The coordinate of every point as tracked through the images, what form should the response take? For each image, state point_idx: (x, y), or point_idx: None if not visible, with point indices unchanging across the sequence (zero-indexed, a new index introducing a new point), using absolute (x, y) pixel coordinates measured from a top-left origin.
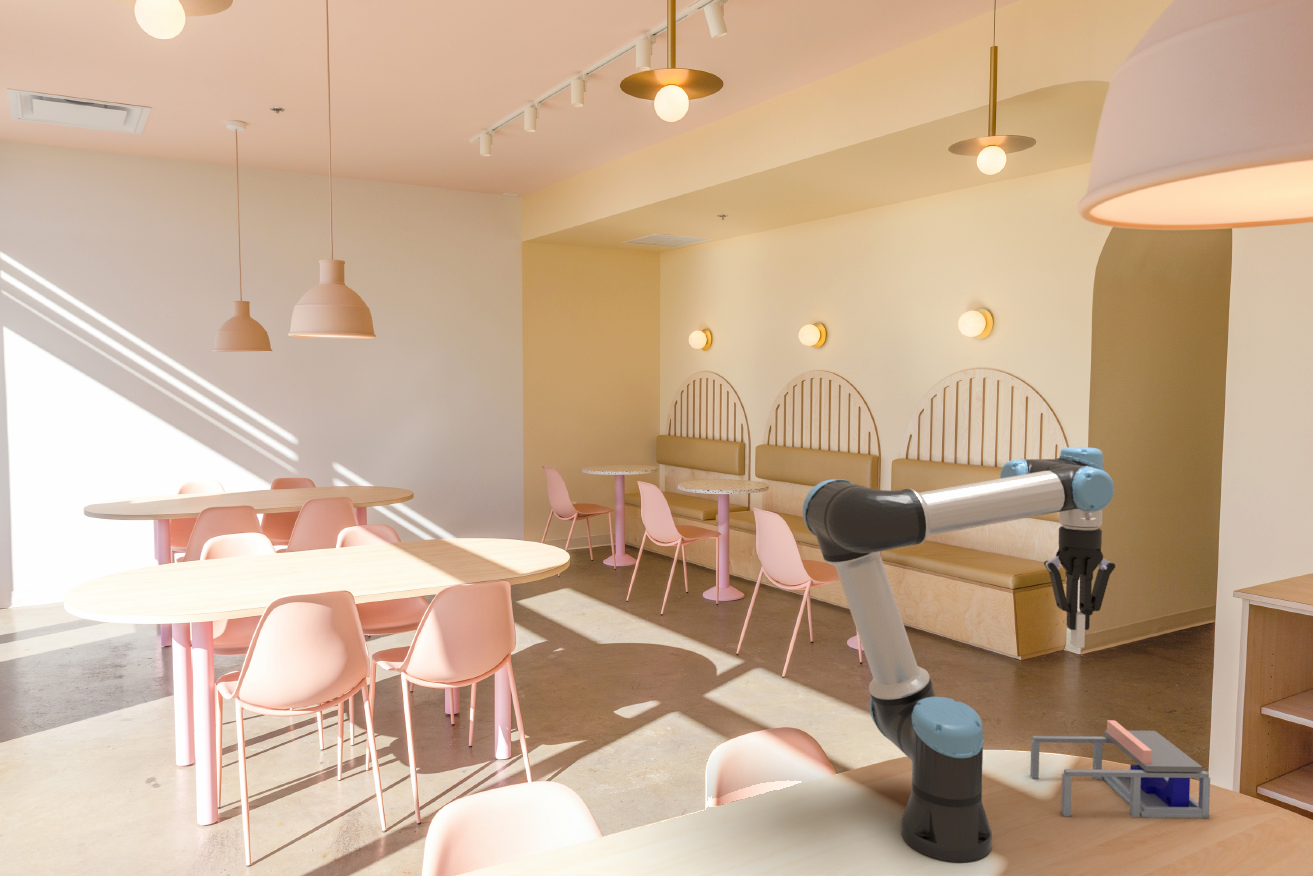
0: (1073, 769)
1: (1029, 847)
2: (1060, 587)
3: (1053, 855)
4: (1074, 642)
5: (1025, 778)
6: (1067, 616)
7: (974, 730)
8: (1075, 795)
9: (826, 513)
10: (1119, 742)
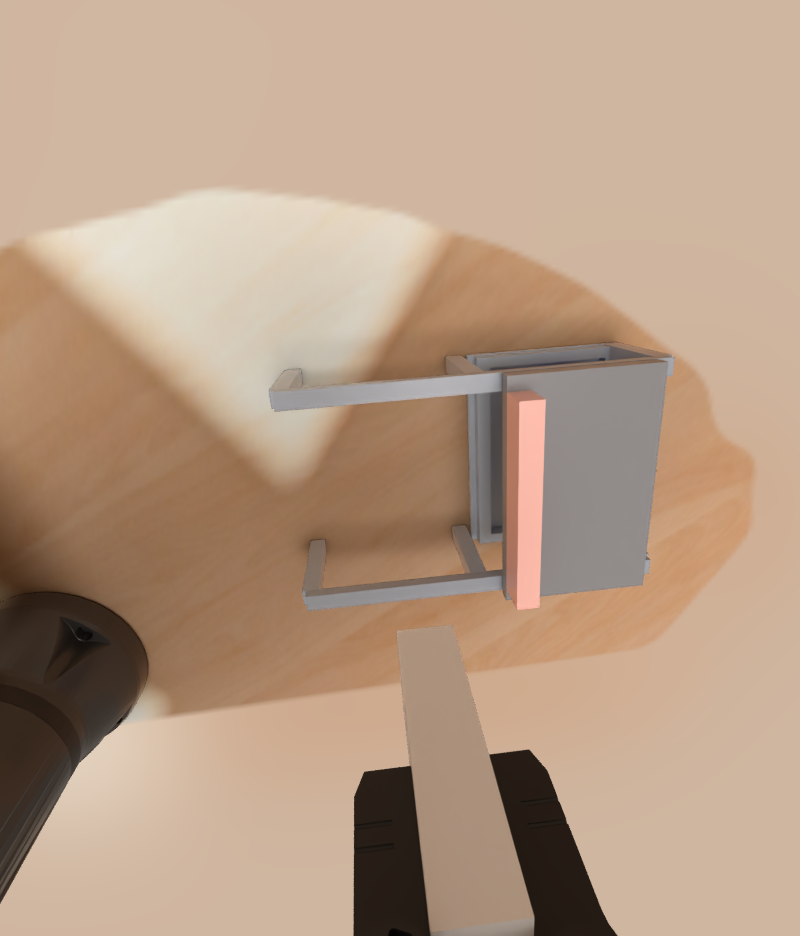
0: (329, 595)
1: (217, 664)
2: None
3: (254, 680)
4: (403, 703)
5: (269, 384)
6: (355, 923)
7: None
8: (367, 459)
9: None
10: (507, 472)
